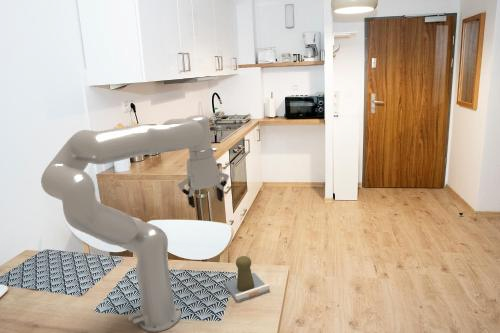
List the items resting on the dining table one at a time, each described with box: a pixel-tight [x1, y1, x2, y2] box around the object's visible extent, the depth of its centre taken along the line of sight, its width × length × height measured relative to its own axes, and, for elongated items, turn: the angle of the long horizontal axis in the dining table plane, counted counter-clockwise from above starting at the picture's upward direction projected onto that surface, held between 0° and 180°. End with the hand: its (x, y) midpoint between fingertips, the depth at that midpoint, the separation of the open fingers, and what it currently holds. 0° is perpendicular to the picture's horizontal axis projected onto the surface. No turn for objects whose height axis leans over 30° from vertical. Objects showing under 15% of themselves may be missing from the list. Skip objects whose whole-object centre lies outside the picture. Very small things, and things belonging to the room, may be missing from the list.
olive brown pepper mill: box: [235, 255, 254, 292], centre depth 134 cm, size 6×6×11 cm
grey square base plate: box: [223, 272, 271, 304], centre depth 136 cm, size 12×12×2 cm
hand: (206, 203), depth 133 cm, fingers open, 9 cm apart
